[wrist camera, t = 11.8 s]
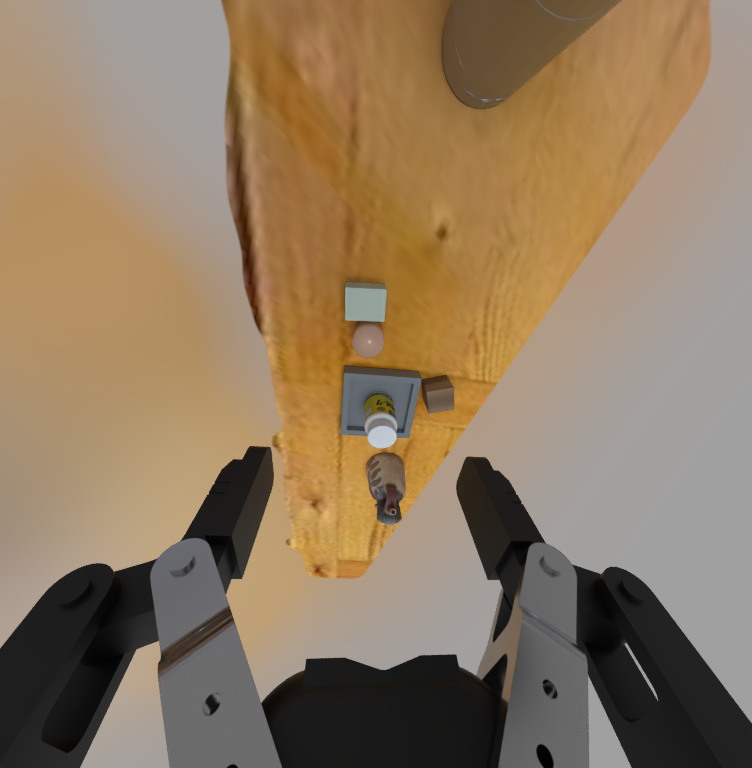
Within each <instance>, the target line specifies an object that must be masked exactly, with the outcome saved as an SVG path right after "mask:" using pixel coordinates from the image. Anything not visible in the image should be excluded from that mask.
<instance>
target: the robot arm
mask: <svg viewBox="0 0 752 768" xmlns="http://www.w3.org/2000/svg"><path fill="white" fill-rule="evenodd" d="M621 1H622V0H453V2H452V5H451V7H450V9H449V13H448V16H447V19H446V22H445V27H444V33H443V39H442V58H443V66H444V71H445V74H446V78H447V81H448V83H449V85H450V87H451V89H452V91H453V92H454V93H455V95H456V96H457V97H458V98H459V99H460V100H461V101H462V102H464V103H465V104H466V105H468V106H471V107H474V108H489V107H493V106H496V105H498V104H500V103H501V102H503V101H505V100H506V99H507V98H508V97H509V96H511V95H512V94H513V93H514V92H515V91H517V90H518V89H519V88H520V87H521V86H522V85H524V84H525V83H526V82H527V81H529V80H530V79H531V78H532V77H533V76H535V75H536V74H537V73H538V72H539V71H540V70H541V69H543V68H544V67H545V66H546V65H547V64H548V63H550V62H551V61H552V60H553V59H554V58H555V57H557V56H558V55H559V54H560V53H561V52H562V51H564V50H565V49H566V48H567V47H568V46H569V45H571V44H572V43H573V42H574V41H575V40H576V39H578V38H579V37H580V36H581V35H582V34H583V33H585V32H586V31H587V30H588V29H589V28H590V27H592V26H593V25H594V24H595V23H596V22H597V21H598V20H600V19H601V18H602V17H603V16H604V15H605V14H607V13H608V12H609V11H610V10H611V9H612V8H614V7H615V6H616V5H617V4H618V3H619V2H621ZM273 479H274V472H273V462H272V452H271V448H270V447H257V446H256V447H255V446H250V447H249V448H248V450H247V451H246V453H245V455H244V457H243V459H242V460H237V459H234V460H232V461H231V462H230V463H229V464H228V465H226V466H225V467H224V468H223V469H222V470H221V472H220V474H219V475H218V477H217V479H216V481H215V484H214V485H213V486H212V488H211V490H210V491H209V495H207V497H206V498H205V500H204V502H203V504H202V505H201V507H200V509H199V511H198V513H197V514H196V516H195V518H194V520H193V521H192V523H191V525H190V527H189V528H188V530H187V532H186V534H185V535H184V537H183V538H182V540H181V541H180V542H178V543H176V544H174V545H172V546H171V547H170V548H168V549H167V550H166V551H164V552H163V553H162V555H160V557H159V558H157V559H155V560H153V561H150V562H147V563H143V564H140V565H136V566H133V567H129V568H126V569H122V570H119V571H115V572H114V571H113V570H112V569H111V567H110V566H108V565H106V564H101V563H100V564H99V563H96V564H90V565H86V566H83V567H81V568H78V569H76V570H74V571H72V572H70V573H69V574H67V575H65V576H64V577H63V578H61V579H59V580H58V581H57V582H56V583H55V584H53V585H52V586H51V587H50V588H49V589H48V590H47V591H46V592H45V594H44V595H43V596H42V597H41V598H40V599H39V601H38V602H37V603H36V604H35V606H34V607H33V608H32V610H31V611H30V612H29V613H28V615H27V616H26V617H25V618H24V620H23V621H22V622H21V623H20V625H19V626H18V627H17V629H15V631H14V632H13V633H12V635H11V636H10V637H9V638H8V640H7V641H6V642H5V643H4V645H3V646H2V647H1V648H0V768H80V766H81V764H82V762H83V760H84V758H85V756H86V754H87V752H88V750H89V747H90V745H91V743H92V741H93V739H94V737H95V735H96V733H97V731H98V729H99V727H100V724H101V722H102V720H103V718H104V716H105V714H106V712H107V710H108V708H109V706H110V703H111V702H112V699H113V697H114V695H115V693H116V691H117V689H118V687H119V685H120V683H121V681H122V678H123V676H124V674H125V672H126V670H127V668H128V666H129V664H130V662H131V660H132V657H133V655H134V653H135V651H136V649H138V648H141V647H143V646H146V645H149V644H151V643H154V642H157V641H159V643H160V651H161V660H160V661H159V663H158V681H159V689H160V697H161V705H162V712H163V720H164V728H165V735H166V743H167V751H168V758H169V766H170V768H589V731H588V729H589V724H588V675H589V678H590V680H591V682H592V684H593V686H594V688H595V690H596V692H597V694H598V697H599V699H600V701H601V703H602V705H603V707H604V709H605V711H606V714H607V716H608V718H609V720H610V722H611V724H612V726H613V729H614V731H615V733H616V735H617V737H618V739H619V741H620V743H621V746H622V748H623V750H624V752H625V754H626V756H627V758H628V761H629V763H630V765H631V767H632V768H752V723H751V722H750V721H749V719H748V718H747V717H746V715H745V714H744V713H743V711H742V710H741V709H740V707H739V706H738V705H737V703H736V702H735V701H734V699H733V698H732V697H731V695H729V693H728V691H727V690H726V689H725V687H724V686H723V685H722V683H721V682H720V681H719V680H718V678H717V677H716V676H715V674H714V673H713V672H712V670H711V669H710V668H709V666H708V665H707V664H706V662H705V661H704V660H703V658H702V657H701V656H700V654H699V653H698V652H697V650H696V649H695V648H694V646H693V645H692V644H691V642H690V641H689V640H688V639H687V637H686V636H685V634H684V633H683V632H682V630H681V629H680V628H679V626H678V625H677V624H676V622H675V621H674V620H673V618H672V617H671V616H670V614H669V613H668V612H667V611H666V609H665V608H664V607H663V605H662V604H661V602H660V601H659V600H658V598H657V597H656V596H655V595H654V593H653V592H652V591H651V590H650V589H649V587H648V586H647V585H646V584H645V583H644V582H642V581H641V580H640V579H639V578H637V577H636V576H635V575H633V574H631V573H630V572H628V571H626V570H624V569H621V568H618V567H609V568H607V569H606V570H605V571H604V572H603V573H602V574H598V573H596V572H593V571H590V570H587V569H584V568H581V567H578V566H575V565H572V564H571V562H570V561H569V560H568V559H567V558H566V556H565V555H563V554H562V553H561V552H560V551H559V550H557V549H556V548H554V547H552V546H550V545H548V544H546V543H545V541H544V539H543V538H542V536H541V534H540V533H539V531H538V529H537V528H536V526H535V524H534V523H533V521H532V519H531V517H530V516H529V514H528V512H527V511H526V509H525V507H524V505H523V504H521V500H520V499H519V497H518V495H516V492H515V490H514V488H513V487H512V485H511V483H510V482H509V480H507V478H505V477H504V476H503V475H502V474H501V473H500V472H499V471H494V470H493V468H492V466H491V464H490V462H489V461H488V459H487V458H485V457H466V459H465V461H464V464H463V466H462V469H461V472H460V474H459V477H458V480H457V485H456V490H457V496H458V499H459V502H460V504H461V507H462V510H463V512H464V515H465V518H466V521H467V523H468V526H469V529H470V532H471V534H472V537H473V540H474V543H475V545H476V548H477V551H478V554H479V556H480V559H481V562H482V565H483V568H484V570H485V573H486V576H487V579H488V580H500V582H501V585H502V587H503V588H502V590H501V592H500V595H499V599H498V604H497V608H496V612H495V616H494V621H493V625H492V629H491V633H490V637H489V641H488V645H487V648H486V651H485V653H484V655H483V658H482V660H481V662H480V666H479V668H478V672H477V675H476V676H475V675H474V674H472V673H471V672H469V671H467V670H465V669H463V668H461V667H459V665H458V661H457V656H456V655H422V656H418V657H416V658H414V659H412V660H409V661H407V662H404V663H402V664H400V665H397V666H395V667H392V668H390V669H387V670H379V669H377V668H373V667H371V666H368V665H365V664H362V663H359V662H356V661H353V660H350V659H347V658H320V659H306V666H305V670H304V671H301V672H299V673H297V674H295V675H293V676H291V677H290V678H288V679H286V680H285V681H284V682H282V683H281V684H280V685H278V686H277V687H276V688H275V689H274V690H273V691H272V692H271V693H270V694H269V695H268V696H267V697H266V698H265V699H264V700H263V702H262V703H261V702H260V698H259V696H258V692H257V689H256V686H255V683H254V680H253V677H252V674H251V671H250V668H249V665H248V662H247V659H246V656H245V652H244V649H243V646H242V643H241V640H240V637H239V634H238V631H237V628H236V625H235V622H234V619H233V616H232V613H231V610H230V607H229V604H228V601H227V597H226V593H227V590H228V587H229V584H230V581H231V579H242V577H243V574H244V571H245V568H246V565H247V562H248V559H249V556H250V553H251V550H252V547H253V544H254V541H255V538H256V535H257V532H258V529H259V526H260V523H261V520H262V517H263V514H264V511H265V508H266V505H267V502H268V499H269V496H270V493H271V490H272V486H273ZM625 643H627V644H628V646H629V647H630V649H631V650H632V652H633V654H634V656H635V657H636V659H637V661H638V662H639V664H640V665H641V667H642V669H643V671H644V672H645V674H646V676H647V677H648V679H649V681H650V682H651V684H652V686H653V688H654V689H655V692H656V694H657V697H658V701H657V699H656V698H655V696H654V694H653V692H652V690H651V689H650V687H649V685H648V684H647V682H646V680H645V679H644V677H643V675H642V673H641V672H640V670H639V668H638V667H637V665H636V663H635V662H634V660H633V658H632V656H631V655H630V653H629V651H628V650H627V648H626V646H625V645H624V644H625Z"/></svg>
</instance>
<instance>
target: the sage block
mask: <svg viewBox="0 0 752 768" xmlns="http://www.w3.org/2000/svg"><path fill="white" fill-rule="evenodd" d="M386 294H387V289H386V286H385V284H381V283H362V282H346V286H345V320H352V321H376V322H384V321H385V308H386Z"/></svg>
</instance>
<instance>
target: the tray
mask: <svg viewBox="0 0 752 768" xmlns="http://www.w3.org/2000/svg"><path fill="white" fill-rule="evenodd" d="M421 380H422V378H421V375H420V373H419V371H408V370H395V369H382V368H369V367H356V366H345V370H344V385H343V402H342V418H341V435H359V436H367V433H366V431H365V427H364V402H365V399H366V398H367V397H368V396H369V395H370V394H372V393H374V392H383V393H386V394H388V395H389V396H390V397H391V398H392V400H393V403H394V409H395V414H396V419H397V430H396V435H397V437H398V438H409V435H410V430H411V426H412V421H413V417H414V412H415V408H416V403H417V398H418V394H419V389H420V385H421Z"/></svg>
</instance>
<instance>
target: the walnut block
mask: <svg viewBox="0 0 752 768" xmlns="http://www.w3.org/2000/svg"><path fill="white" fill-rule="evenodd" d="M422 389H423V399H424V402H425V405H426V408H427V410H428V413H435V412H441V411H447V410H453V409H454V387H453V386H452V384H451V382H450V380H449V379H448V377H447V375H444V376H438V377H432V378H426V379H422Z"/></svg>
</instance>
